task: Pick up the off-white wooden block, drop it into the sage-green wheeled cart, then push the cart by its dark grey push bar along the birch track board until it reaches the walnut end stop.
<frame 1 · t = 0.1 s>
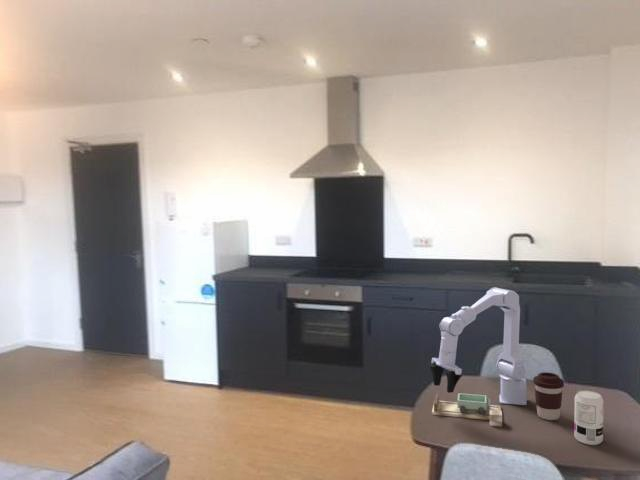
hand: (443, 388, 187), 10 cm above the table, tool pointing down, fingers open, 7 cm apart
block: (495, 423, 181), on the table
supplement can: (588, 440, 168), on the table
coffee cup: (548, 416, 186), on the table
track board: (466, 411, 192), on the table
cart: (473, 403, 191), point 3 cm above the table, slide at 0.0 cm
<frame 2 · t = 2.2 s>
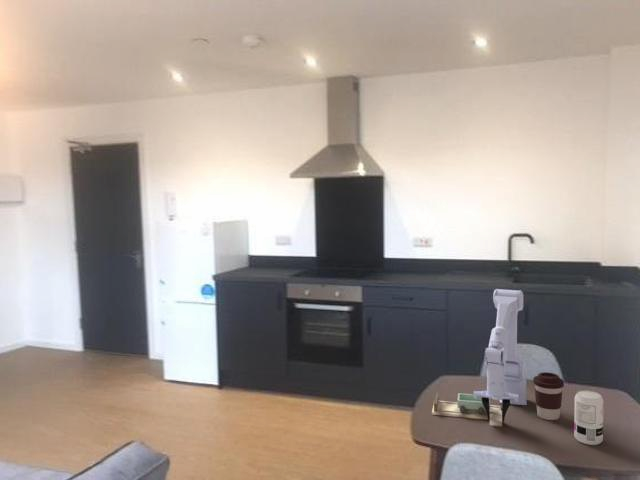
hand: (495, 419, 181), 1 cm above the table, tool pointing down, fingers closed on block, 4 cm apart
block: (495, 423, 181), on the table, touching gripper
everything else where it was.
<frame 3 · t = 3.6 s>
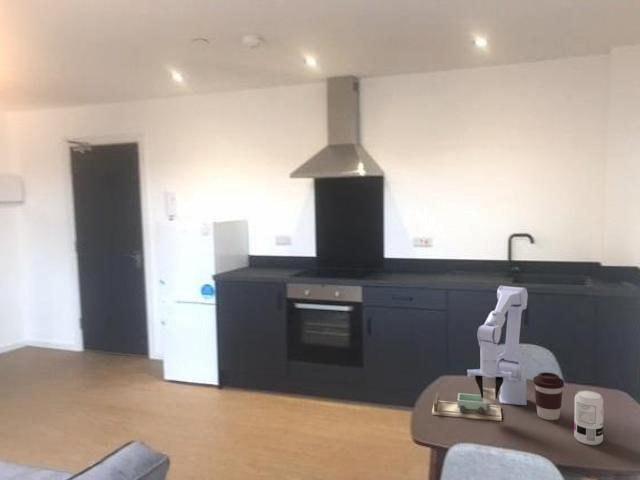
hand: (489, 397, 183), 8 cm above the table, tool pointing down, fingers closed on block, 4 cm apart
block: (489, 401, 183), point 7 cm above the table, touching gripper
everything else where it was.
when the fingers open (6 cm above the table, at t = 4.9 s): block drops 1 cm, resting on cart.
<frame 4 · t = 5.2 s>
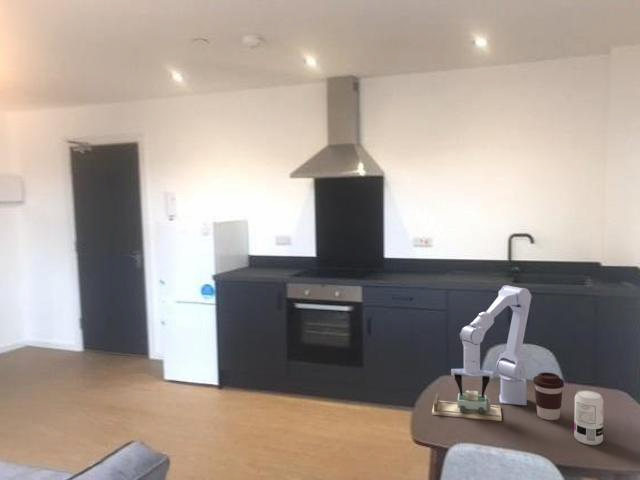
hand: (472, 395, 191), 6 cm above the table, tool pointing down, fingers open, 7 cm apart
block: (471, 403, 191), point 3 cm above the table, touching cart
cart: (473, 403, 191), point 3 cm above the table, slide at 0.0 cm, touching block
everything else where it was.
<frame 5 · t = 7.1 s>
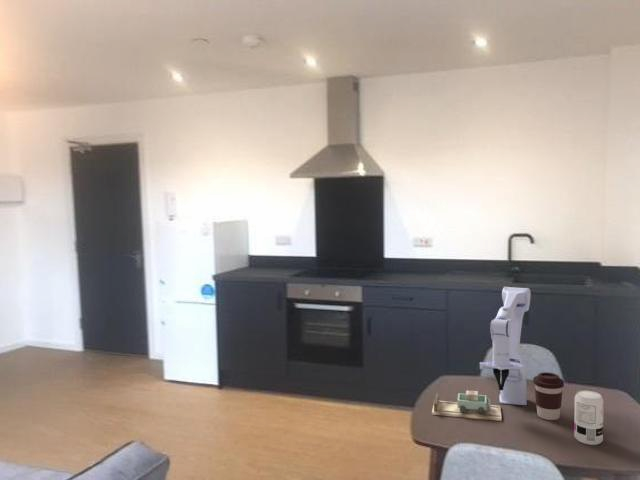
hand: (501, 389, 188), 9 cm above the table, tool pointing down, fingers closed
nothing on the table moved.
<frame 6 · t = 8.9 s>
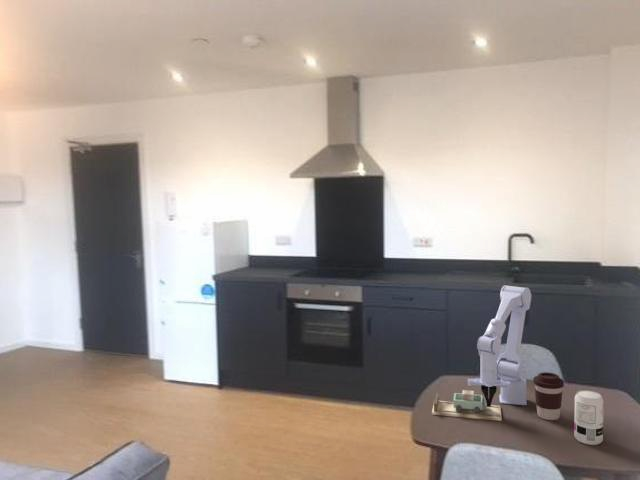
hand: (488, 405, 189), 3 cm above the table, tool pointing down, fingers closed
block: (468, 403, 191), point 3 cm above the table, touching cart
cart: (469, 402, 191), point 3 cm above the table, slide at 1.4 cm, touching block, gripper
everything else where it was.
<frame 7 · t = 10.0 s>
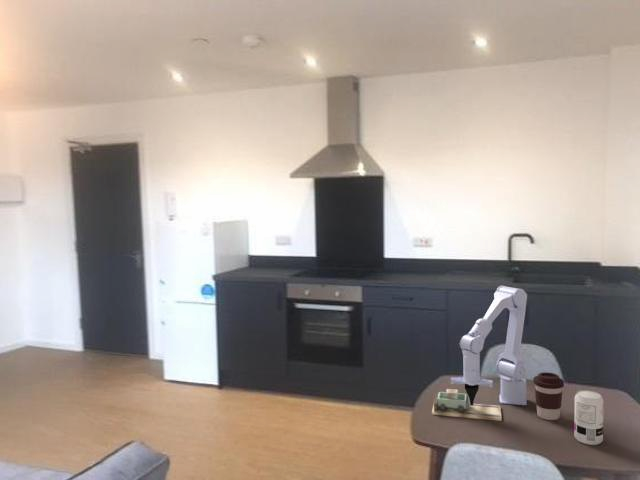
hand: (471, 404, 191), 3 cm above the table, tool pointing down, fingers closed
block: (452, 401, 193), point 3 cm above the table, touching cart
cart: (453, 401, 193), point 3 cm above the table, slide at 7.1 cm, touching block, gripper
everything else where it was.
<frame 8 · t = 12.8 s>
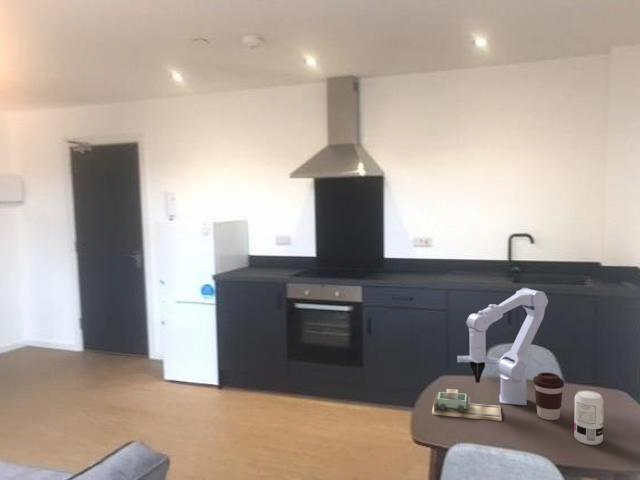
hand: (477, 381, 196), 9 cm above the table, tool pointing down, fingers closed
cart: (454, 401, 193), point 3 cm above the table, slide at 7.0 cm, touching block
everything else where it was.
at the end: cart slide at 7.0 cm; block 0.1 cm from the target spot, point 3.3 cm above the table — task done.
